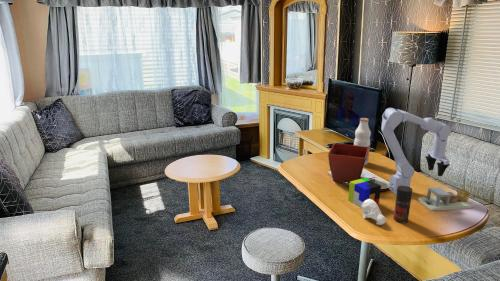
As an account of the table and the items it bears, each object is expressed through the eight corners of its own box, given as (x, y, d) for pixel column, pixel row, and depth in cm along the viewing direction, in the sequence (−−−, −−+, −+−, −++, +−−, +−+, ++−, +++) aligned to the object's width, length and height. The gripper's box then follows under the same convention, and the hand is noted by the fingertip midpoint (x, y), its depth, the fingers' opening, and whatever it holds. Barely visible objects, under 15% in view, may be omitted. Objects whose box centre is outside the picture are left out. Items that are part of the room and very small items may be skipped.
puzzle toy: (362, 209, 172) (365, 189, 169) (348, 200, 181) (349, 181, 177) (378, 204, 176) (381, 185, 173) (363, 196, 185) (365, 177, 182)
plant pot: (325, 182, 200) (327, 153, 195) (332, 170, 217) (334, 142, 212) (362, 188, 193) (365, 158, 188) (365, 175, 210) (368, 147, 205)
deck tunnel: (431, 210, 171) (433, 197, 169) (417, 199, 181) (419, 187, 179) (472, 207, 174) (475, 194, 172) (456, 197, 184) (459, 184, 182)
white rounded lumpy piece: (372, 195, 165) (392, 209, 156) (368, 212, 169) (388, 226, 159) (361, 198, 163) (381, 213, 153) (358, 215, 166) (377, 230, 156)
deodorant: (391, 216, 165) (395, 185, 161) (403, 216, 166) (408, 185, 161) (397, 223, 160) (401, 191, 155) (410, 222, 160) (415, 191, 156)
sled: (445, 203, 175) (447, 194, 173) (439, 199, 179) (441, 190, 177) (468, 201, 176) (470, 192, 175) (462, 197, 181) (464, 188, 179)
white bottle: (349, 162, 229) (353, 118, 220) (357, 159, 235) (361, 116, 226) (362, 166, 222) (367, 121, 214) (370, 162, 228) (375, 118, 220)
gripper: (456, 151, 176) (452, 178, 180) (437, 142, 190) (433, 167, 194) (443, 152, 175) (438, 178, 179) (424, 143, 189) (421, 167, 193)
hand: (435, 172), depth 187 cm, fingers open, 7 cm apart
